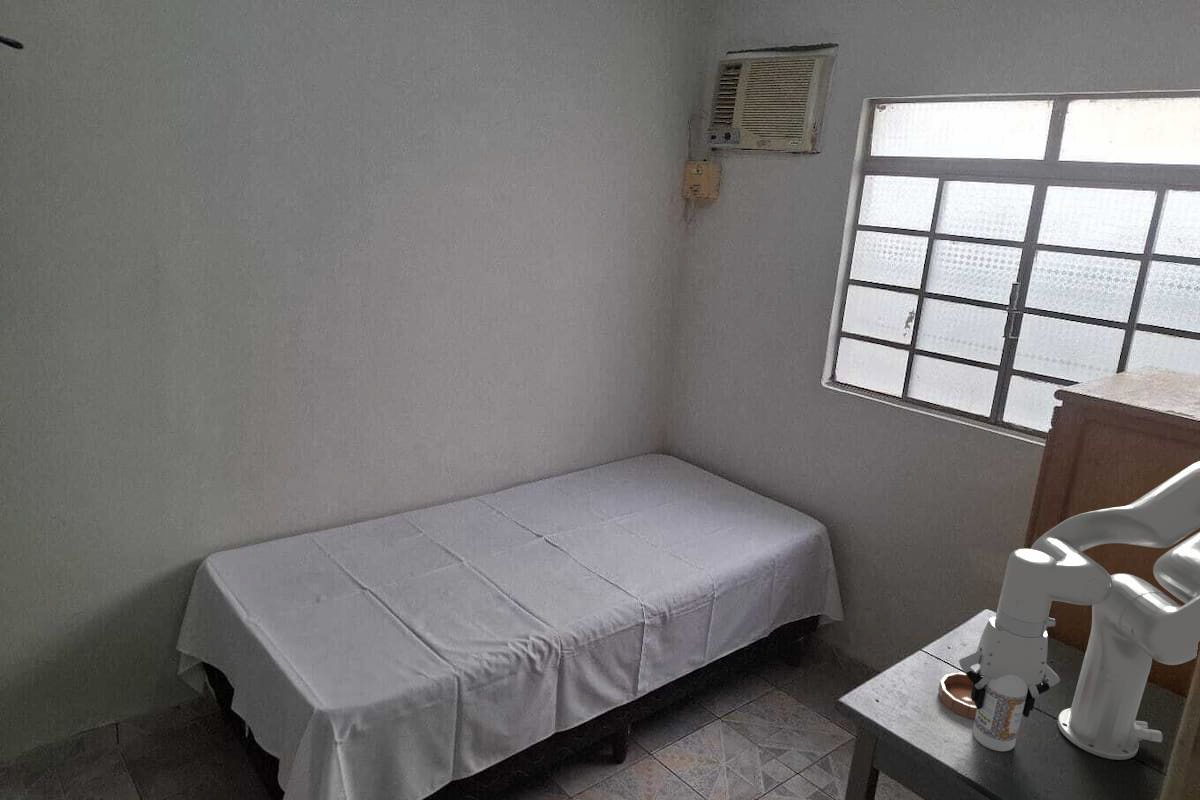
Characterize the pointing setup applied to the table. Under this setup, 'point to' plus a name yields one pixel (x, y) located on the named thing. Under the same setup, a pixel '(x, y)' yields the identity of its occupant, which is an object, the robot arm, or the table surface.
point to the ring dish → (958, 694)
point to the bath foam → (1000, 713)
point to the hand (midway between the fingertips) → (1000, 707)
